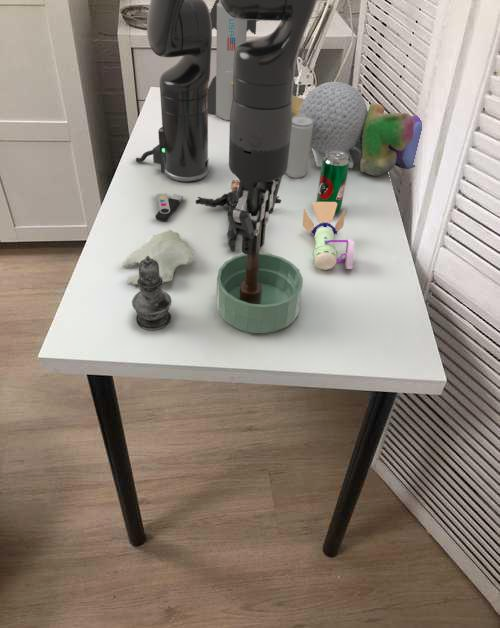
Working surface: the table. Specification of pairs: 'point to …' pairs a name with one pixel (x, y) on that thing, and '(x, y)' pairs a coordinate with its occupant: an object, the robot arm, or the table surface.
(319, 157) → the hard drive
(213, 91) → the rocket model
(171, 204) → the usb flash drive
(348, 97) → the decorative ball
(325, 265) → the spotlight
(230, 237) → the action figure
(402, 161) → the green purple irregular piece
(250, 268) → the muddler
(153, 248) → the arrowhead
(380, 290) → the table surface
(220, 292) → the bowl
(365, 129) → the sculpture
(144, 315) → the chess piece
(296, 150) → the beverage can
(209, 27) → the robot arm
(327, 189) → the soda can
